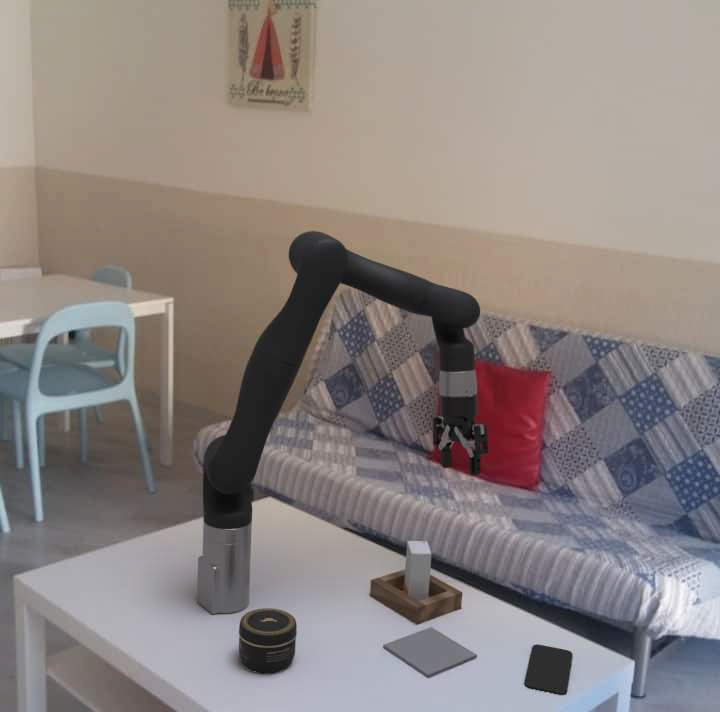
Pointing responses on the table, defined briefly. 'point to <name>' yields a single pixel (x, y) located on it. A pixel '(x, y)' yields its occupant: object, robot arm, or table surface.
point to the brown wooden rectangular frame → (416, 611)
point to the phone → (548, 669)
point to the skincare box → (417, 569)
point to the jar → (267, 640)
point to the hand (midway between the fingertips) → (460, 471)
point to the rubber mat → (429, 652)
